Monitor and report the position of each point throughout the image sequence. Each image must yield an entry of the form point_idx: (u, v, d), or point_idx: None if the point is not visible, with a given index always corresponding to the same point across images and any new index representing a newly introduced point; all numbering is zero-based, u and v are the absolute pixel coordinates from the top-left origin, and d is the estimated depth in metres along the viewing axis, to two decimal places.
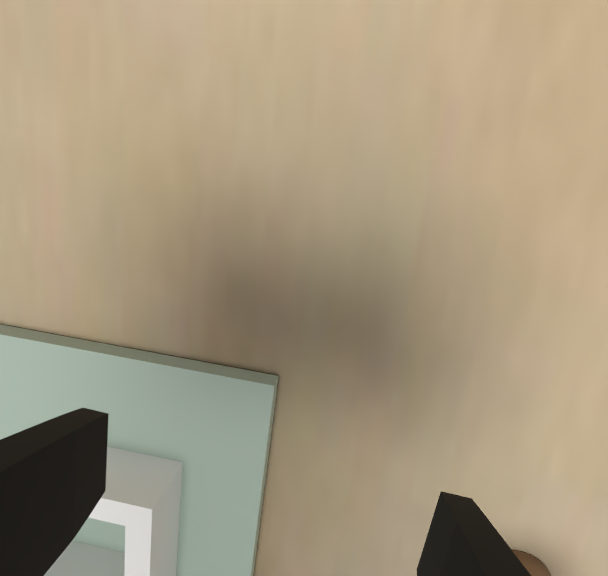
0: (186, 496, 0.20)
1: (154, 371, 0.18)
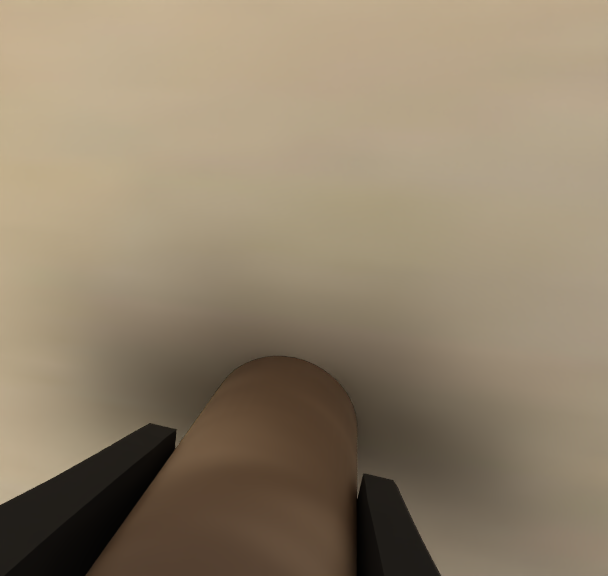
0: None
1: None
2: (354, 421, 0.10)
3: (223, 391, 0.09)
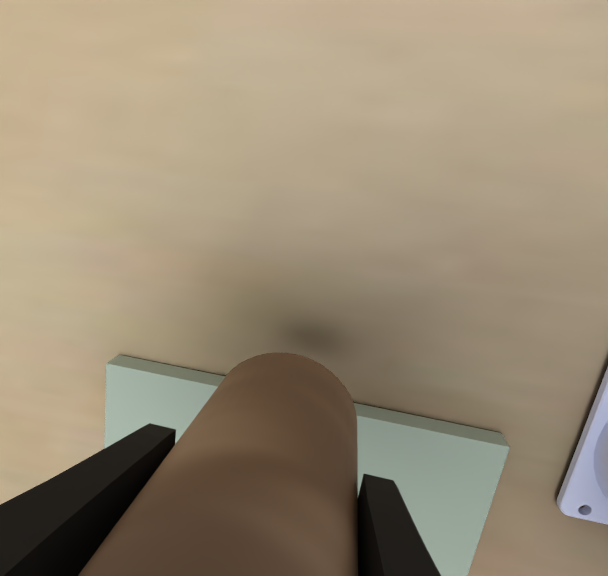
0: None
1: None
2: (354, 417, 0.10)
3: (224, 386, 0.09)
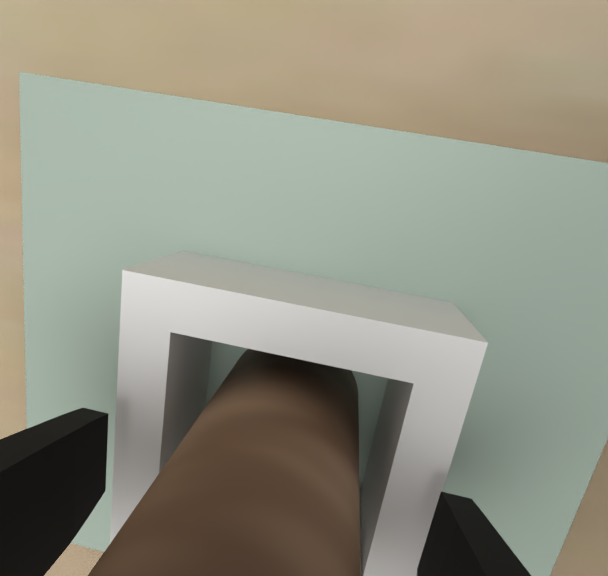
0: (250, 252, 0.11)
1: (35, 275, 0.12)
2: (356, 390, 0.11)
3: (242, 362, 0.10)
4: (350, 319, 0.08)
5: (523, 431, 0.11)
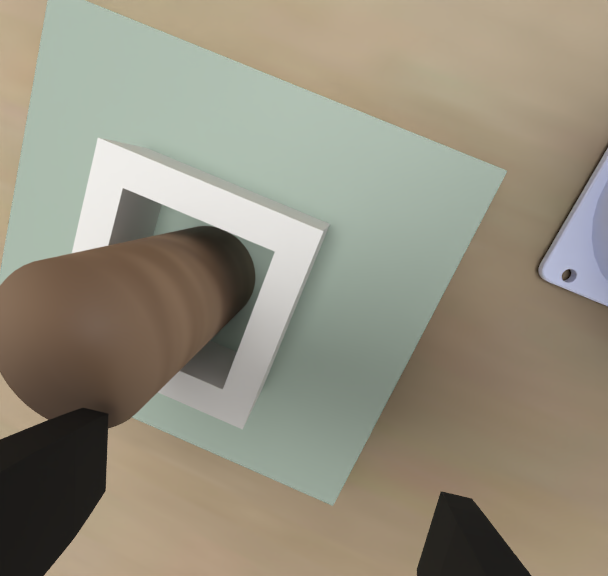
0: (195, 159, 0.15)
1: (32, 144, 0.16)
2: (251, 274, 0.15)
3: None
4: (241, 200, 0.12)
5: (363, 328, 0.16)
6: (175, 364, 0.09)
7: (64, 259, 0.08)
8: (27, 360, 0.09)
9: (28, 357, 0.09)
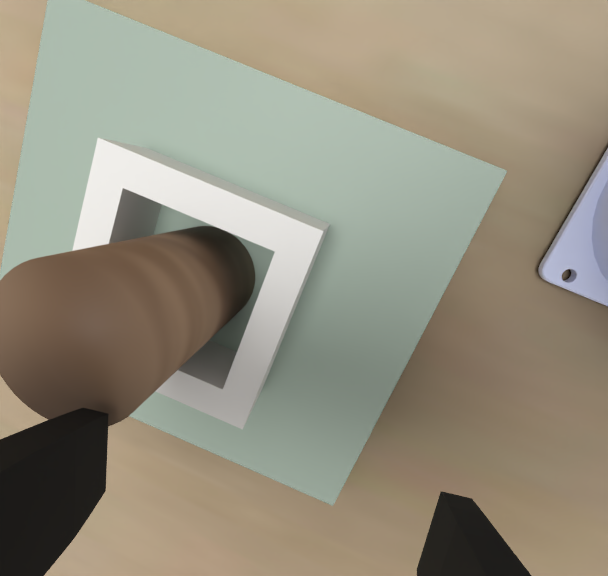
0: (195, 159, 0.15)
1: (32, 144, 0.16)
2: (251, 274, 0.15)
3: None
4: (241, 200, 0.12)
5: (363, 328, 0.16)
6: (173, 362, 0.09)
7: (61, 257, 0.08)
8: (25, 358, 0.09)
9: (26, 356, 0.09)
